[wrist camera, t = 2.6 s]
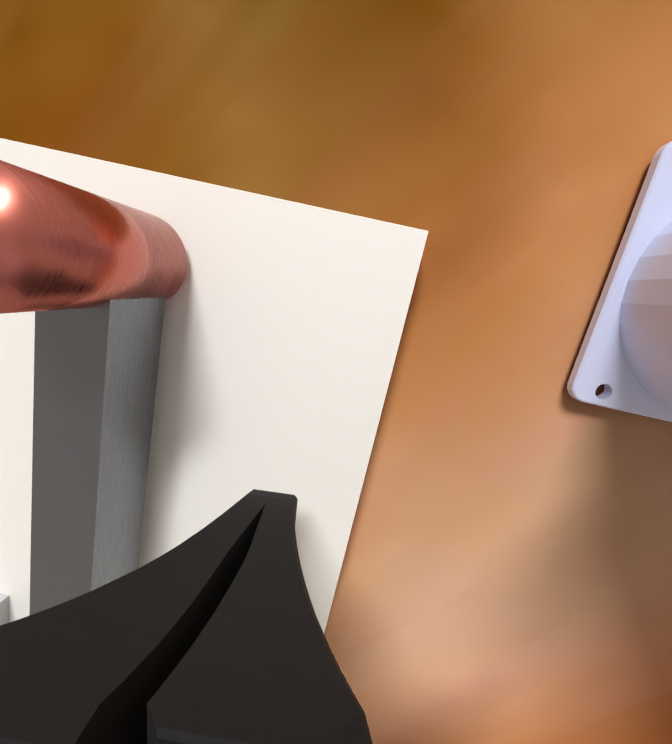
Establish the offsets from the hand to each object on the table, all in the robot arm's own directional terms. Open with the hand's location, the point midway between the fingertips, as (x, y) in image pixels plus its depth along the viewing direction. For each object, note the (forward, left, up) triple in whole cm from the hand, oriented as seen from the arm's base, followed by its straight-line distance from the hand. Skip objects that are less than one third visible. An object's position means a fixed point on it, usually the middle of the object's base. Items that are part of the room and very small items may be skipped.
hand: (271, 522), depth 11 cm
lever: (+5, +2, -2) cm, 6 cm away
